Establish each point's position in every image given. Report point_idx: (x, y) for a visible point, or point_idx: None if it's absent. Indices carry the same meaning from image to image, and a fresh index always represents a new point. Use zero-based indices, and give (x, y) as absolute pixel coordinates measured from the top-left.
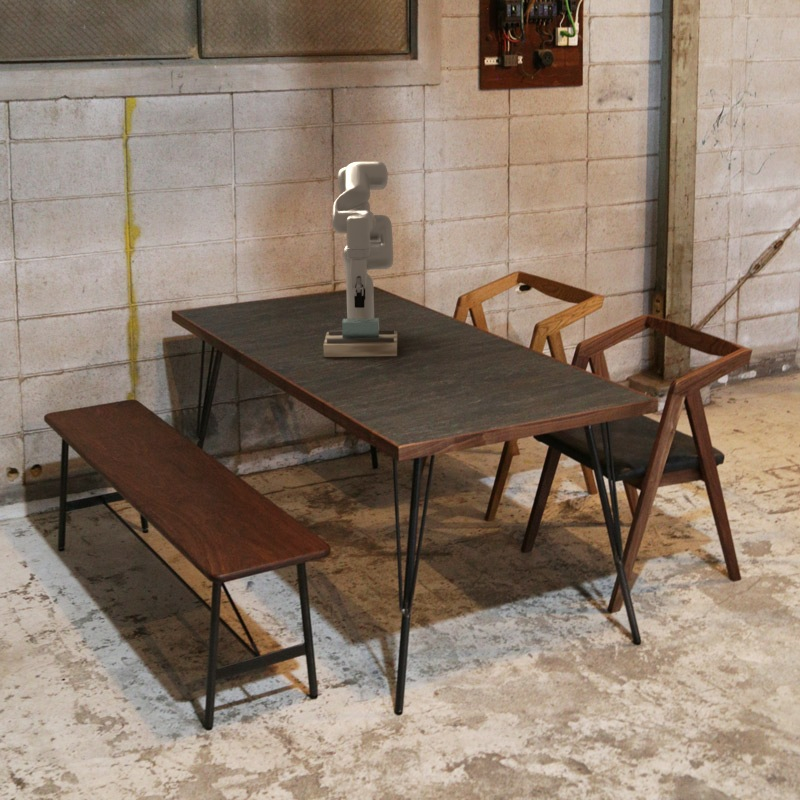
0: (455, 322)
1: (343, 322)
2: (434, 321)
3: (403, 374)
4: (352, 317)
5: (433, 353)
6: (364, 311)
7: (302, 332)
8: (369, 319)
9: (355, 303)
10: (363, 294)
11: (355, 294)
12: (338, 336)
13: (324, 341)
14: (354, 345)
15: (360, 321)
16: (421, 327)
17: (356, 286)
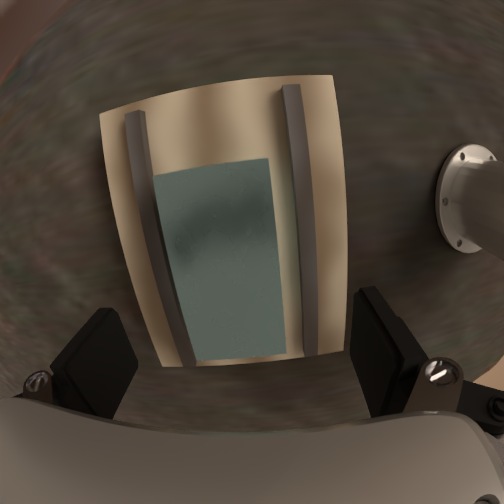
0: (469, 381)
1: (158, 183)
2: (490, 347)
3: (48, 350)
4: (486, 182)
5: (221, 406)
6: (494, 235)
7: (445, 29)
8: (251, 319)
9: (88, 329)
10: (363, 377)
11: (27, 385)
12: (252, 136)
13: (155, 97)
14: (120, 234)
15: (196, 280)
16: (465, 340)
17: (413, 389)
